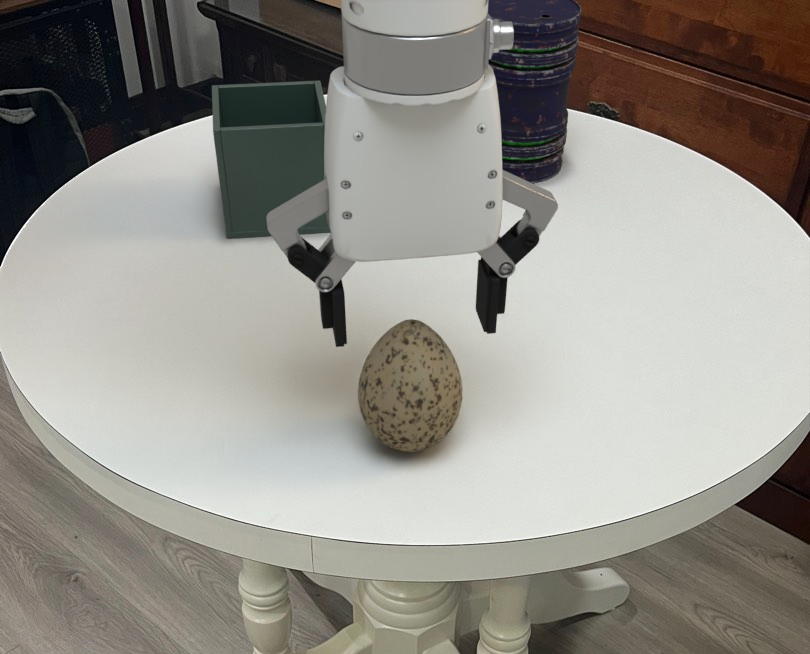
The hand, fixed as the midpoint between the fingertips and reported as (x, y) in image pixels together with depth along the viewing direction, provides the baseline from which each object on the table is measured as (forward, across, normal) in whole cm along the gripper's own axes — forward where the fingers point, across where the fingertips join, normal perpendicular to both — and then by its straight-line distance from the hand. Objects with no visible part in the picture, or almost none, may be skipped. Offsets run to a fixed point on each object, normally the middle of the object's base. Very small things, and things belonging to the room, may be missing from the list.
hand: (412, 328), depth 64 cm
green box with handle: (+4, +12, -36) cm, 38 cm away
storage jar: (+10, -18, -43) cm, 48 cm away
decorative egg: (+10, 0, 0) cm, 10 cm away
